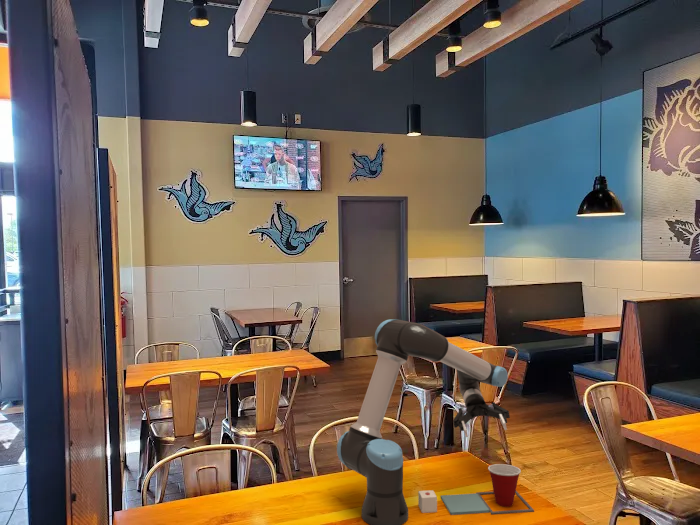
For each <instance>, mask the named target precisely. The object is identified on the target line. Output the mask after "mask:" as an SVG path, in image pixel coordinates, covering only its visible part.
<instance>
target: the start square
mask: <svg viewBox="0 0 700 525" xmlns="http://www.w3.org/2000/svg"><path fill="white" fill-rule="evenodd" d="M476 493H477V494H478V496H479V497H480V498H481V500H482V501H483V502H484V504H485V505H486V506H487V508H488V509H489V514H490V515H501V514H502V515H503V514H505V515H506V514H517V513H521V514H522V513H534V512H535V509H534V508H533V507H532V506H531V505H530V504H529V503H528V502H527V500H526V499H524V497H523V496H522V495H521V494H520V493H519V492H518V491H517V490H516V492H515V493H516V494H515V496H517V498H518V499H520V500H521V502H522V503H523V504H524V505H525V506H526V507H527V508H528V509H526V508H525V509H516V510H515V509H514V510H497V511H493V510H492V509H491V507H490V506H489V505H488V503H487V502H486V501H485V499H484V498H483V496H484V495H494V491H483V492H482V491H479V492H476ZM482 495H483V496H482Z"/></svg>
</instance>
